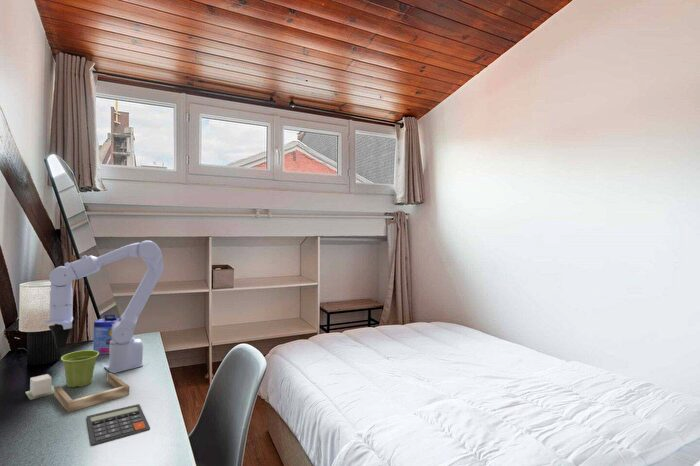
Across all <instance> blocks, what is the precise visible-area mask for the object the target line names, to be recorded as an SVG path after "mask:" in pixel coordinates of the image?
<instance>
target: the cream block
mask: <svg viewBox="0 0 700 466" xmlns="http://www.w3.org/2000/svg"><path fill="white" fill-rule="evenodd" d="M52 380H53V378H52V376H51V375H50V374H49V373H46V374H41V375H37V376H32V377H30V379H29V391H30V393H31V394H32V395H33V396H37V395H40V394H44V393H48V392H51V389H52V386H53V385H52V384H53V383H52V382H53V381H52Z"/></svg>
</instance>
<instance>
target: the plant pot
mask: <svg viewBox="0 0 700 466" xmlns="http://www.w3.org/2000/svg"><path fill="white" fill-rule="evenodd" d="M99 355H100V354H99V352H98V351H94V350H93V349H90V350H89V349H88V350H87V349H86V350H78V351H77V350H76V351H73V352H70V353H66V354H64V355H62V356H60V360H61V361H62V364H63V366H64V373H65V381H66V386H67V387H69V388H75V387H84V386H87V385H89V384H91V382H92V381H93V375H94V371H95V365H96V361H97V359H98V356H99Z"/></svg>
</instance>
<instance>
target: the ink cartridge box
mask: <svg viewBox="0 0 700 466" xmlns="http://www.w3.org/2000/svg"><path fill="white" fill-rule="evenodd" d="M119 319H120V317H116V314H104V318H98V319H97V320H96V321H94V323H93V347H92V348H93V349H92V350H94V351H98V352H99V355H106V354H109V348H110V340H112V337H111V334H112V325H113V324H114V323H115V322H116V321H117V320H119Z"/></svg>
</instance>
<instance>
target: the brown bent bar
mask: <svg viewBox="0 0 700 466" xmlns="http://www.w3.org/2000/svg"><path fill="white" fill-rule="evenodd" d="M106 377H107V383H108V384H109V385H111V386H112V387H113V388H112V389H108V390H104V391H100V392H96V393H93V394H89V395H86V396H82V397H79V398H75V399H72V397H71V396H69V394H68V393H67V392H66V391H65V390H64V389H63V388H62V387H61V385H59V386H54V385H52V389H51V392H48V393H44V394H40V395H37V396H33V395H32V394H31V393H30V390H28V391H25V395H26V396H27V398H28V399H29V400H30V401H32V400H35V399H39V398H43V397H47V396H52V395H53V397H54V398H55V399H57V401H58V402H59V403H60V405H61V406H63V408H64V409H65V410H66V412H68V413H70V412H75V411H77V410H81V409H84V408H88V407H91V406H94V405H97V404H101V403H105V402H108V401H111V400H115V399H117V398H118V399H119V398H122V397H125V396H129V395H130V385H129V384H127V382H125V381H123V379H121V378H119V377H118V376H117V375H115V373H111V372H109V373H107V376H106Z"/></svg>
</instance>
